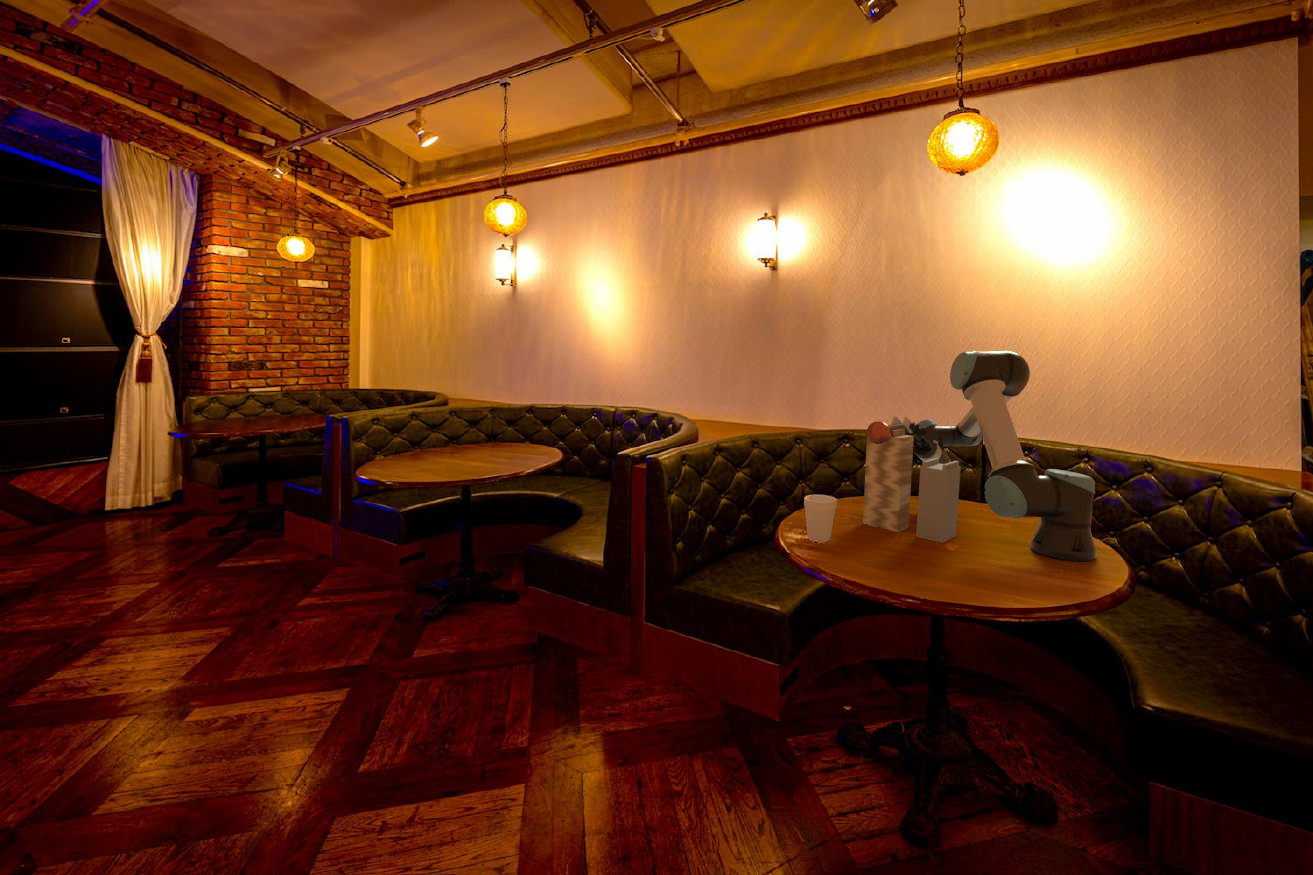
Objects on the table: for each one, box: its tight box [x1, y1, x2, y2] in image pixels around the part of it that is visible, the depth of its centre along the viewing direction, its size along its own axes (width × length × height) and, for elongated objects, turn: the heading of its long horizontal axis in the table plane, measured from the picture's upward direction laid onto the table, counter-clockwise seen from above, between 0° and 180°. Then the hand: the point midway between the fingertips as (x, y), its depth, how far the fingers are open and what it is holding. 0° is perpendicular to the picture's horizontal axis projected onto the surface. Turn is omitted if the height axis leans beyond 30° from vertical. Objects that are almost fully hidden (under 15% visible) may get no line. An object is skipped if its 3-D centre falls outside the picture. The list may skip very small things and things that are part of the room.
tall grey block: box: [915, 458, 962, 544], centre depth 181 cm, size 8×9×24 cm
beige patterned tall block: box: [862, 428, 914, 533], centre depth 192 cm, size 12×7×32 cm, turn 41°
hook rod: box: [866, 420, 916, 444], centre depth 191 cm, size 7×22×7 cm, turn 131°
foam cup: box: [803, 494, 838, 542], centre depth 179 cm, size 10×9×13 cm
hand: (899, 420), depth 192 cm, fingers closed on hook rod, 3 cm apart
